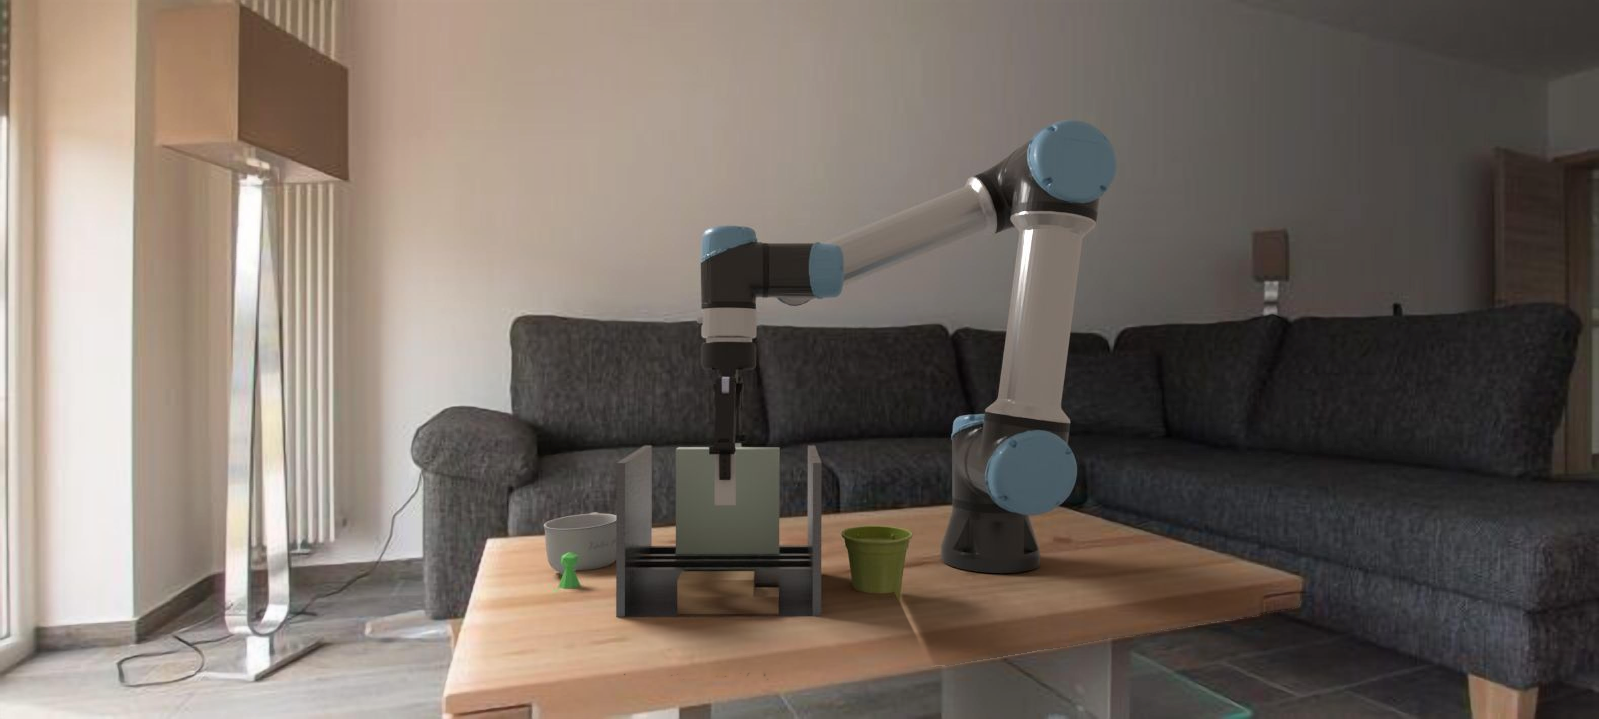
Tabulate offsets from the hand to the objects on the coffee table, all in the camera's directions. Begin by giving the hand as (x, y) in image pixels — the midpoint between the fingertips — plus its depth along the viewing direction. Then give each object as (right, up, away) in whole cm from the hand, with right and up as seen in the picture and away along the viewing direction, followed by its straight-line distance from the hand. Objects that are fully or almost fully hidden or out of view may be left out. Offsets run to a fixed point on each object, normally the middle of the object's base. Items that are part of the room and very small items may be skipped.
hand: (728, 496), depth 112 cm
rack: (0, -13, -6) cm, 14 cm away
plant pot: (+20, -13, -3) cm, 24 cm away
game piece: (-21, -13, -3) cm, 25 cm away
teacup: (-22, -13, +11) cm, 28 cm away
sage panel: (0, -11, 0) cm, 11 cm away
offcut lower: (+1, -11, -13) cm, 17 cm away
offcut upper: (0, -9, -13) cm, 16 cm away
